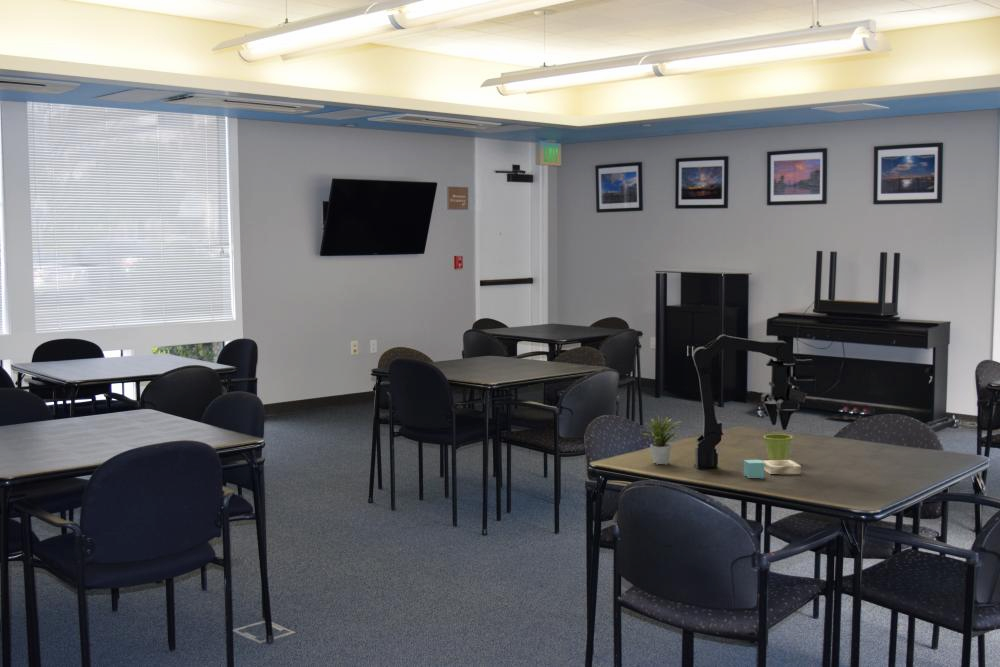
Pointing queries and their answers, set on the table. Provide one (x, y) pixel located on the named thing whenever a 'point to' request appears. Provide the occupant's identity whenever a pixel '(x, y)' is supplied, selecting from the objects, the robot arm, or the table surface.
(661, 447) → the house plant
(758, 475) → the teal cube
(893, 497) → the table surface
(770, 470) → the cream square tray
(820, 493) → the table surface
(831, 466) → the table surface
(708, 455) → the robot arm
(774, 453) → the plant pot
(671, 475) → the table surface
